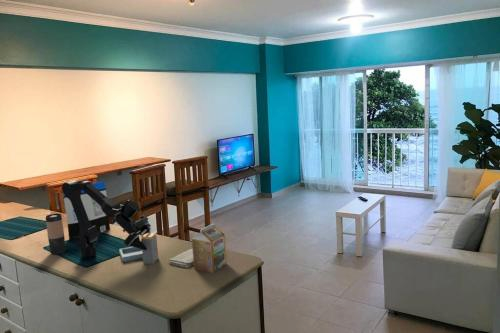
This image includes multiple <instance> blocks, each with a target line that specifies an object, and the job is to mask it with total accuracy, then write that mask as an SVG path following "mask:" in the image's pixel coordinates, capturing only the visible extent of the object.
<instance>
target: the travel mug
mask: <svg viewBox="0 0 500 333" xmlns="http://www.w3.org/2000/svg"><path fill="white" fill-rule="evenodd" d="M45 222H46V223H45V224H46V231H47V239H48V245H49V246H48V247H49V251H50V255H55V256H57V254H58V255H62V254H65V253H66V251H67V250H66V239H65V229H64V226H63V225H64V223H63V217H62V214H61V213H50V214H47V215H46V216H45ZM61 253H62V254H61Z"/></svg>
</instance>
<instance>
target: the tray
mask: <svg viewBox="0 0 500 333" xmlns="http://www.w3.org/2000/svg"><path fill="white" fill-rule="evenodd" d="M118 250H119V255H120V257H121V261H122V263H128V262H132V261H138V260H143V254H142V249H139V248H136V247H132V246H127V247H124V248H119V249H118Z"/></svg>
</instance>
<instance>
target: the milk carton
mask: <svg viewBox="0 0 500 333" xmlns="http://www.w3.org/2000/svg"><path fill="white" fill-rule="evenodd" d="M191 244H192V245H191V246H192V249H193V260H194V265H193V269H195V270H199V271H203V272H208V273H212V274H213V273H215V272H216V271H218V270H220V269H221V268H224V266H227V264H228V263H227V249H226V248H227V247H226V234H225V233H224V232H223V231H222V230H221V229H220V228H219V227H217V226H216V223H212V224H209V225H207V226H205V227H203V228H201V229H200V231H199V233H197V234H195V235H194V236H193V237H192V238H191Z"/></svg>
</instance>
